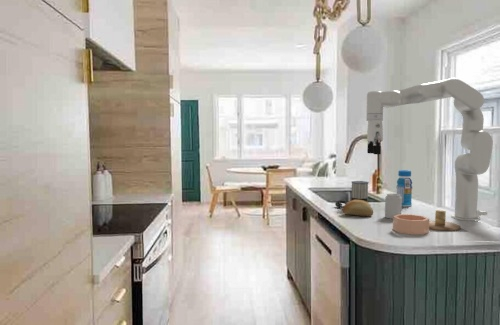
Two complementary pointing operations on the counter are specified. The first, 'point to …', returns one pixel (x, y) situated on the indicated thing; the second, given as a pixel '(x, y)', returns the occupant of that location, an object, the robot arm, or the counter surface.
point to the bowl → (410, 224)
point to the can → (393, 205)
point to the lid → (442, 223)
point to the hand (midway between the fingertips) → (373, 153)
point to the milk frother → (357, 192)
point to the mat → (449, 231)
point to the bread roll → (358, 208)
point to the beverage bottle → (405, 187)
